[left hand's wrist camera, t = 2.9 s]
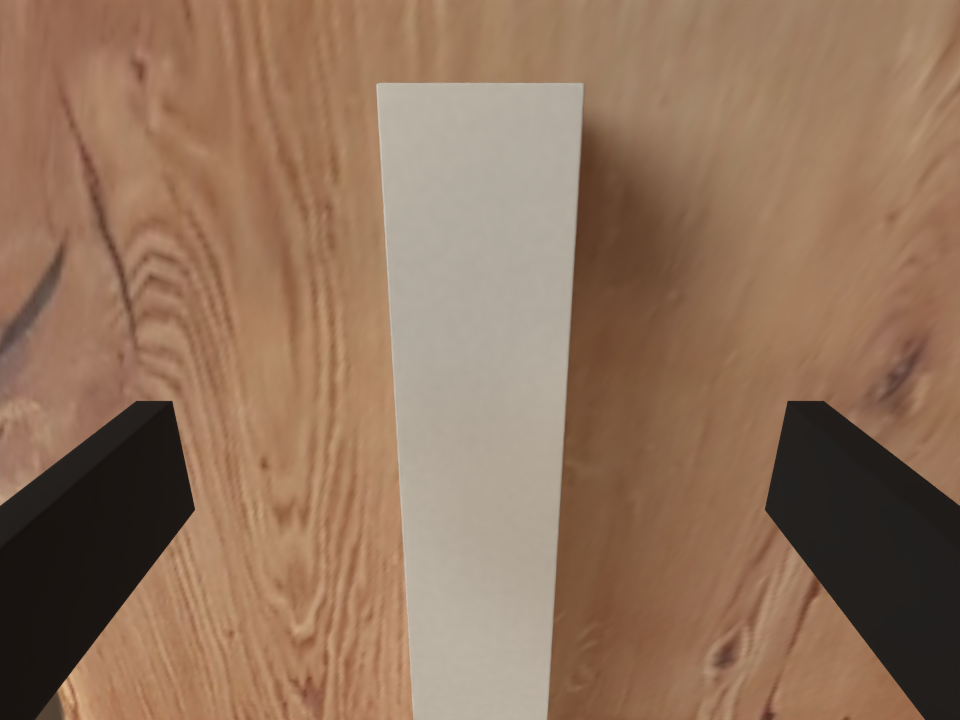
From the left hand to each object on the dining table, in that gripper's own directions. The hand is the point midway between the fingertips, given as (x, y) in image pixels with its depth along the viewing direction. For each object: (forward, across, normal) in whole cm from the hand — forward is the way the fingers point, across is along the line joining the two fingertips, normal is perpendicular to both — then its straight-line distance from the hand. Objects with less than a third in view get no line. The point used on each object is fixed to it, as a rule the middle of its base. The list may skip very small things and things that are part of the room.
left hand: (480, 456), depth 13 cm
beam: (+14, 0, -30) cm, 33 cm away
